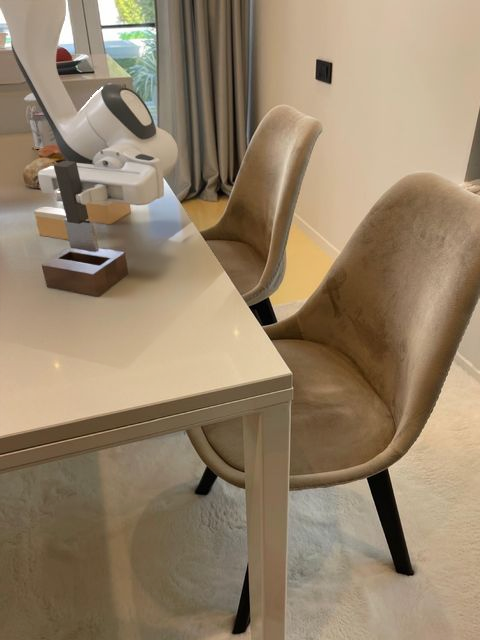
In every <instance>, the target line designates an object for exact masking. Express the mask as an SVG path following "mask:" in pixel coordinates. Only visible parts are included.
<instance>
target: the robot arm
mask: <svg viewBox="0 0 480 640" xmlns="http://www.w3.org/2000/svg"><path fill="white" fill-rule="evenodd" d="M0 11H1V13H2V16H3V18H4V20H5V23H6V27H7V30H8V32H9V37H10V47H11V51H12V53H13V54H12V55H13V57H14V59H15V62H16V64H17V66H18V68H19V70H20V71H21V74H22V76H23V77H24V80H25V81H26V83H27V85H28V87H29V89H30V91H31V93H33V95H34V96H35V98H36V100H37V102H36V103H37V104H38V106H39V108H41V109H40V110H42V111H43V113H44V115H45V117H46V119H47V121H48V123H49V125H50V127H51V129H52V131H53V134H54V136H55V139H56V142H57V145H58V148H59V150H60V152H61V154H62V156H63V157H64V159H65V160H66V161H71V162H76V163H77V168H78V172H79V177H80V181H81V186H82V190H80V191H78V192H76V193H75V198H76V203H77V204H82V205H86V204H88V203H90V202H95V201H108V202H116V203H124V204H130V205H132V206H146V205H149V204H151V203H153V202H154V201H156V200H159V199H161V198H163V197H164V195H165V186H164V184H165V183H164V182H165V181H164V179H165V178H166V177H168V176H169V175H170V174H171V172H172V171H173V170H174V169H175V167H176V166H177V163H178V158H179V149H178V148H179V147H178V144H177V142H176V140H175V139H174V137H173V136H172V135H171V134H170V133H169V132H167V131H166V130H164V129H162V128H160V127H158V126H157V125H156V124H155V121H154V118H153V115H152V113H151V111H150V109H149V107H148V106H147V104H146V102H145V101H144V100H143V99H142V97H141V96H140V95H139V94H138V93H137V92H135V91H134V90H132V89H131V88H128V87H127V86H124V85H121V84H118V83H105V84H103V85H102V86H101V88H100V89H99V90H97V91H96V92H95V93H94V94H93V95H92V97H90V99H89V100H88V101H87V102H86V103H85V104H84V105H83V106H82V107H81V108H80V109H79V110H77V109H76V107H75V105H74V102H73V101H72V99H71V97H70V95H69V93H68V91H67V89H66V87H65V85H64V83H63V81H62V79H61V78H60V77H61V76H60V75H59V71H58V68H57V53H58V47H59V43H60V38H61V35H62V32H63V29H64V26H65V23H66V19H67V15H68V0H0ZM38 179H39V184H40V187H41V189H40V190H41V193H43V194H46V195H54V198H55V201H56V202H62V198H61V194H60V190H59V185H58V181H57V177H56V173H55V169H54V166H51V167H48V168H45V169H42V170H40V171H39V172H38ZM62 203H63V202H62Z"/></svg>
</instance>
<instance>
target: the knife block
mask: <svg viewBox="0 0 480 640" xmlns="http://www.w3.org/2000/svg"><path fill="white" fill-rule="evenodd" d="M98 248H99V251H97V252H92V251H86V250H80V249H74V248H71V247H69V248H67V249H65V250H64V251H62V252H60V253H59V254H57V255H56V256H54V257H52V258H50V259H48V260H47V261H45V262H44V263H42V264H41V268H42V272H43V277H44V281H45V285H46V287H47V288H50V289H55V290H60V291H66V292H71V293H77V294H81V295H87V296H92V297H96V298H98V297H100V296H101V295H102V294H103V293H106V291H108V290H109V289H110V288H111V287H113V286H114V285H116V283H118V282H119V281H121V280H122V279H123V278H125V277H126V276H127V275H129V270H128V263H127V255H126V252H125V251H119V250H114V249H106V248H102V247H101V248H100V247H98Z"/></svg>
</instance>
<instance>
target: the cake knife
mask: <svg viewBox="0 0 480 640" xmlns="http://www.w3.org/2000/svg"><path fill="white" fill-rule="evenodd" d="M54 169H55V173H56V177H57V181H58V185H59V190H60V194H61V198H62V207H63V209H64V210H65V214H66V219H64V222H65V226H66V230H67V234H68V238H69V240H68V243H69V246H70V248H74V249H80V250H86V251H92V252H97V251H99V248H100V247H99V244H98V239H97V235H96V230H95V224H94V222H93V221H86V220H87V219H88V218H89V217H88V213H87V208H86V205H82V204H77V203H76V198H75V193H76V192H78V191H80V190H82V186H81V181H80V177H79V172H78V168H77V163H76V162H71V161H62V162H60V163H58V164H56V165H54Z"/></svg>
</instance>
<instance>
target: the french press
mask: <svg viewBox="0 0 480 640" xmlns="http://www.w3.org/2000/svg"><path fill="white" fill-rule="evenodd" d="M23 100H24V101H25V102H29V103H38V102H37V100H36V98H35V96H34V95H33V93H32V92H30V93H29V94H27V95H26V96H25V97H24V98H23ZM39 108H40V107H39ZM28 110H30V112H29V113H28ZM28 115H29V116H31V117H29V119H28ZM25 116H26V117H25V119H26V120H27V121H26V123H27V125H28V128H29V129H30V130H31V133H32V137H33V141H34V144H35V146H36V147H40V148H43V147H45V146H48V145H57V142H56V139H55V136H54V134H53V131H52V129H51V127H50V125H49V123H48V121H47V119H46V117H45V115H44V113H43V111H42V110H41V108H40V110H37V107H36V105H33V106H32V107H31V105H28V106H27V107H26V115H25ZM39 137H40V138H39Z"/></svg>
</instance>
